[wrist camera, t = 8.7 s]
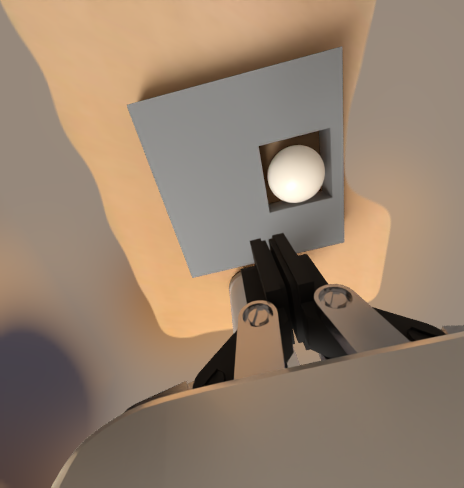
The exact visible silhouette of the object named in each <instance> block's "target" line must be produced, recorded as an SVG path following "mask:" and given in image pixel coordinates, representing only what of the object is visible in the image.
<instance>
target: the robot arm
mask: <svg viewBox="0 0 464 488" xmlns="http://www.w3.org/2000/svg"><path fill="white" fill-rule="evenodd" d="M250 245H251V250H252V254H253V259H254V263H255V266H252V267H248V268H244V269H241V274H242V280H243V285H244V291H245V296H246V302H247V304H246V305H245V306H244V307H243V308H242V309H241V310H240V312H239V316H238V328H237V330H236V332H235V333H234V334H233V335H232V336H231V337H230V338H229V340H228V341H227V342H226V343H225V344H224V345H223V346H222V348H220V350H219V351H218V352H217V353H216V354H215V355H214V356H213V358H212V359H211V360H210V361H209V362H208V363H207V364H206V365H205V367H204V368H203V369H202V370H201V371H200V372H199V374H198V375H197V377H196V378H195V381H192V382H190V383H187V381H184V382H182V383H180V384H178V385H176V386H173V387H171V388H169V389H167V390H165V391H162V392H160V393H158V394H156V395H154V396H151V397H149V398H147V399H145V400H142V401H140V402H138V403H136V404H134V405H133V406H131V407H129V408H128V409H127V410H126V411H125V412H124V413H122V414H121V415H119V416H117V417H116V418H114V419H113V420H111V421H109V422H108V423H106V424H105V425H103V426H102V427H100V428H99V429H98V430H96V431H95V432H94V433H93V434H91V435H90V436H89V437H88V438H87V439H85V440H84V442H82V443H81V444H80V446H79V447H78V448H77V449H76V450H75V451H74V453H73V454H72V455H71V456H70V458H69V459H68V460H67V462H66V463H65V465H64V466H63V468H62V470H61V471H60V473H59V474H58V476H57V478H56V480H55V481H54V483H53V485H52V487H51V488H464V325H463V326H462V325H458V326H442V329H441V330H440V329H438V328H436V327H434V326H432V325H429V324H427V323H424V322H420V321H417V320H413V319H410V318H406V317H403V316H400V315H397V314H393V313H390V312H387V311H383V310H380V309H377V308H373V307H371V306H370V305H369V304H368V303H367V302H365V301H364V300H363V299H362V298H361V297H360V296H359V295H358V294H357V293H355V292H354V291H353V290H352V289H350V288H349V287H346V286H344V285H339V284H328V283H327V282H326V280H325V279H324V278H323V276H322V275H321V273H320V272H319V270H318V269H317V268H316V266H315V265H314V263H313V262H312V260H311V259H310V258H309V256H308V255H307V254H304V255H299V256H298V255H297V254H296V252H295V251H294V249H293V247H292V246H291V244H290V243H289V241H288V239H287V238H286V236H285V235H284V233H280V234H276V235H272V238H271V239H269V246H270V249H269V247H268V245H267V243H266V240H263V241H261V238H259V239H255V240H251V241H250ZM293 330H294V333H295V335H296V338H297V340H298V343H301V342H303V343H304V346H305V348H306V350H309V349H311V350H313V351H316V352H318V353H319V356H320V359H321V361H318V362H313V363H309V364H304V365H299V366H295V367H290V368H288V365H287V362H288V361H289V359H290V358H291V356H292V354H293V353H294V350H293V344H295V341H294V334H293Z"/></svg>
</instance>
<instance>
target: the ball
mask: <svg viewBox="0 0 464 488" xmlns="http://www.w3.org/2000/svg"><path fill="white" fill-rule="evenodd" d="M267 177H268V183H269V187H270V189H271V190H272V192H273V193H274V194H275V195H276V196H277V197H278V198H279V199H281V200H283V201H286V202H290V203H298V202H303V201H305V200H308V199H309V198H311V197H312V196H314V195H315V194H316V193H317V192H318V190H319V189H320V188H321V186H322V184H323V181H324V177H325V167H324V163H323V160H322V158H321V157H320V155H319V154H318V153H317V152H316V151H315V150H313V149H312V148H310V147H307V146H303V145H293V146H289V147H287V148H285V149H283V150H281V151H280V152H279V153H278V154H276V156H275V157H274V158H273V159H272V161H271V163H270V165H269V169H268V176H267Z"/></svg>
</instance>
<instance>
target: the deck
mask: <svg viewBox="0 0 464 488" xmlns="http://www.w3.org/2000/svg"><path fill="white" fill-rule="evenodd" d="M127 108H128V110H129V113H130V116H131V118H132V121H133V123H134V126H135V129H136V131H137V134H138V137H139V139H140V142H141V144H142V147H143V150H144V152H145V155H146V158H147V160H148V163H149V165H150V168H151V171H152V173H153V176H154V178H155V181H156V184H157V186H158V189H159V192H160V194H161V197H162V199H163V202H164V205H165V207H166V210H167V213H168V215H169V218H170V220H171V223H172V226H173V228H174V231H175V233H176V236H177V239H178V241H179V244H180V247H181V249H182V252H183V254H184V257H185V260H186V262H187V265H188V267H189V270H190V273H191V275H192V278H194V277H198V276H203V275H207V274H211V273H215V272H220V271H224V270H228V269H232V268H237V267H241V266H245V265H249V264H254V259H253V254H252V250H251V245H250V241H251V240H255V239H259V238H261V241H263V240H266V243H267V245H268V247H269V249H270V246H269V239H271V238H272V235H276V234H280V233H284V235H285V236H286V238H287V239H288V241H289V243H290V244H291V246H292V247H293V249H294V251H295V252H296V253H300V252H305V251H309V250H313V249H317V248H322V247H326V246H330V245H335V244H339V243H343V242H344V162H343V61H342V47H338V48H335V49H331V50H327V51H323V52H320V53H316V54H312V55H309V56H305V57H301V58H298V59H294V60H290V61H287V62H283V63H279V64H276V65H272V66H268V67H265V68H261V69H257V70H253V71H250V72H246V73H242V74H239V75H235V76H231V77H228V78H224V79H220V80H217V81H213V82H209V83H206V84H202V85H198V86H195V87H191V88H187V89H184V90H180V91H176V92H172V93H169V94H165V95H161V96H158V97H154V98H150V99H147V100H143V101H139V102H136V103H132V104H128V105H127ZM315 131H319V145H320V157H321V158H322V160H323V163H324V167H325V177H324V181H323V184H322V191H320V192H317V193H316V194H315V195H314V196H312V197H311V198H309V199H308V200H305V201H303V202H298V203H290V202H286V201H279V202H275V203H271V204H268V200H267V194H266V188H265V182H264V176H263V170H262V164H261V158H260V152H259V146H261V145H265V144H269V143H273V142H277V141H280V140H284V139H288V138H292V137H296V136H300V135H304V134H308V133H312V132H315Z"/></svg>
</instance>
